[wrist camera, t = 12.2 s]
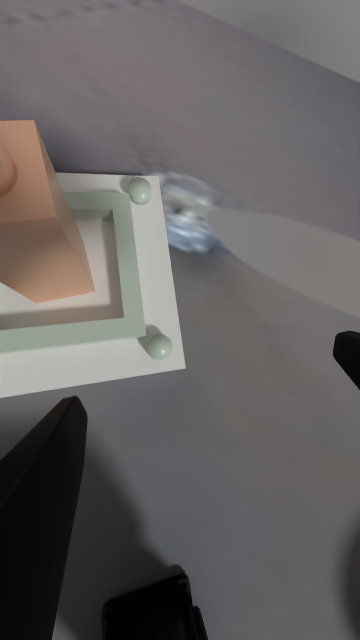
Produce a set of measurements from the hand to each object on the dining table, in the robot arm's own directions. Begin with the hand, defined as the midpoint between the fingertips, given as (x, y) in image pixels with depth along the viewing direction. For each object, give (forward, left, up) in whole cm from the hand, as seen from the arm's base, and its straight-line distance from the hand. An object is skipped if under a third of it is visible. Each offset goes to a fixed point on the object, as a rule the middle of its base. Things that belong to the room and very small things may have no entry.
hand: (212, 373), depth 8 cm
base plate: (-7, +9, -13) cm, 17 cm away
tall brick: (-7, +9, -11) cm, 16 cm away
